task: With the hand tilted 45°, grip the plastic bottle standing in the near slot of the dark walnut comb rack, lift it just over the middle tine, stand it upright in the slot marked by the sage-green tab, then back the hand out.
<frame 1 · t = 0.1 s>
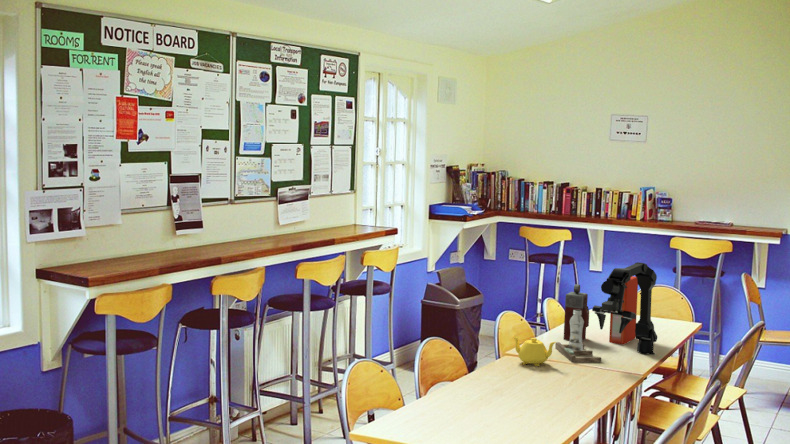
hand: (610, 331, 345), 15 cm above the table, tool pointing down, fingers open, 9 cm apart
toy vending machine: (576, 339, 394), on the table
comb rack: (579, 355, 363), on the table
file binder: (622, 340, 394), on the table
teapot: (533, 363, 347), on the table
plastic bottle: (575, 352, 368), on the table
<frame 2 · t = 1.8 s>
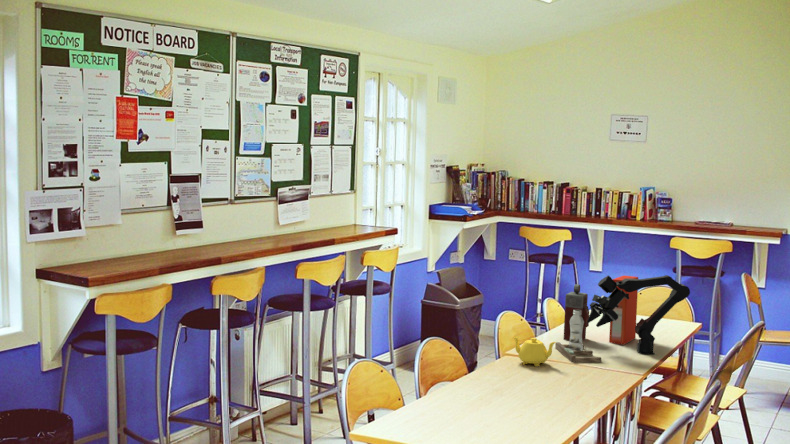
hand: (592, 324, 367), 14 cm above the table, tool tilted 45°, fingers open, 9 cm apart
nothing on the table moved.
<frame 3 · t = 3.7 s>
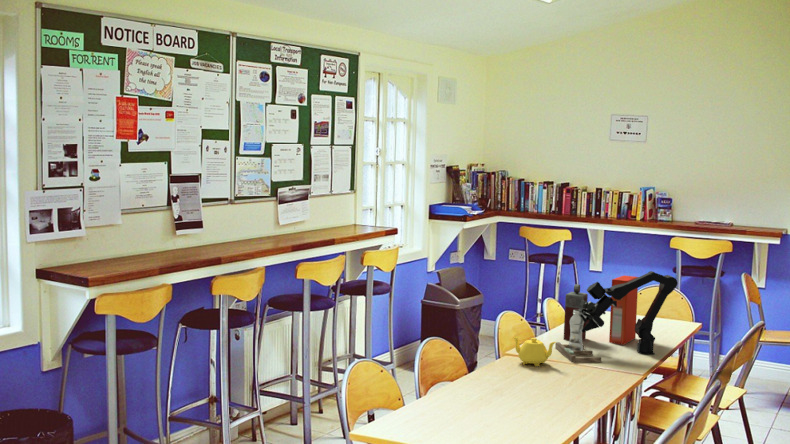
hand: (578, 329, 368), 11 cm above the table, tool tilted 45°, fingers open, 9 cm apart
nothing on the table moved.
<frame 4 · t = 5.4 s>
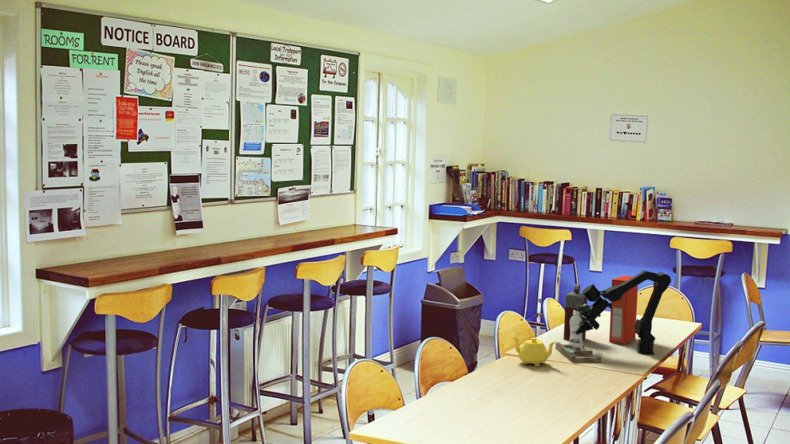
hand: (573, 332, 367), 10 cm above the table, tool tilted 45°, fingers closed on plastic bottle, 6 cm apart
plastic bottle: (575, 352, 368), on the table, touching gripper
everything else where it was.
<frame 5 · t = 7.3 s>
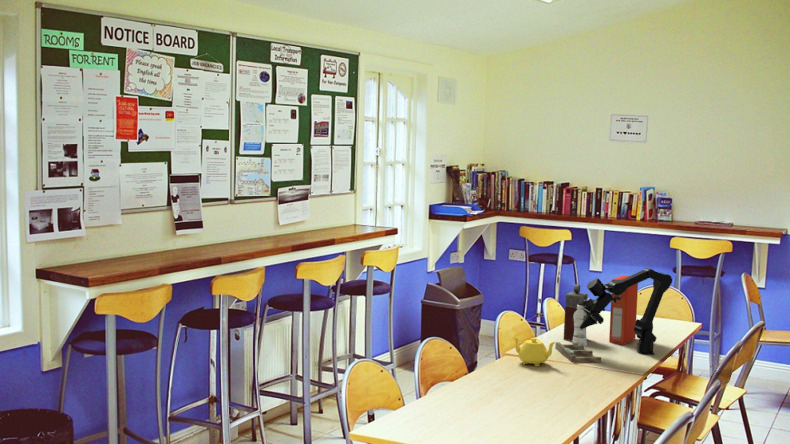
hand: (577, 326, 362), 13 cm above the table, tool tilted 45°, fingers closed on plastic bottle, 6 cm apart
plastic bottle: (579, 347, 363), point 3 cm above the table, touching gripper
everything else where it was.
when the fingers open (10 cm above the table, at t = 9.8 s): plastic bottle stays where it is, on the table.
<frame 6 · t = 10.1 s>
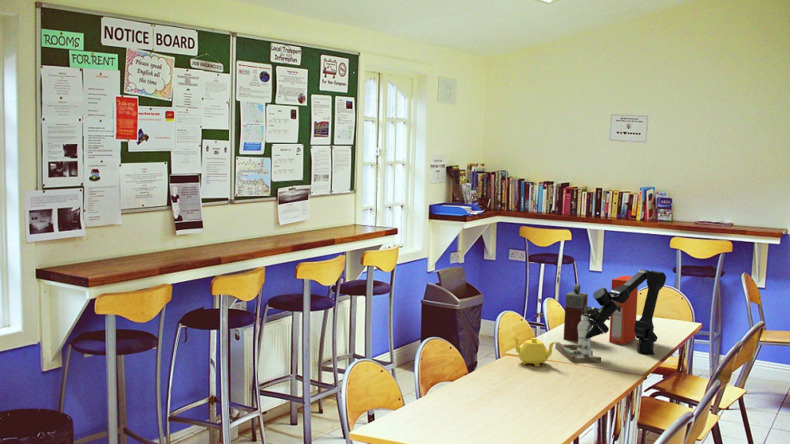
hand: (581, 335, 356), 11 cm above the table, tool tilted 45°, fingers open, 9 cm apart
plastic bottle: (583, 358, 357), on the table
everything else where it was.
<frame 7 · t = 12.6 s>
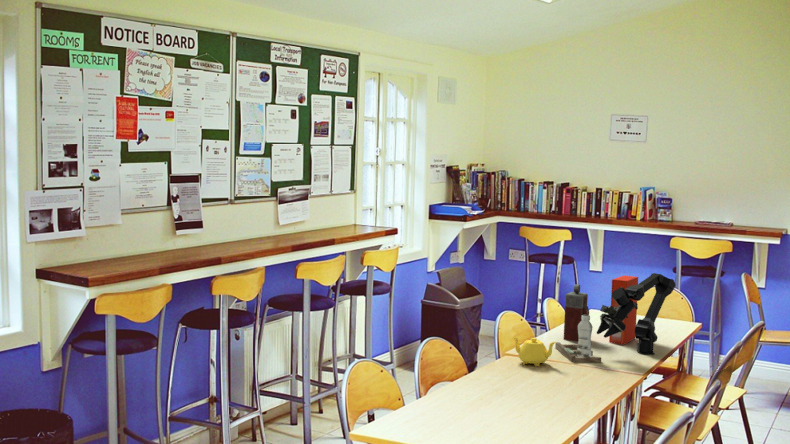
hand: (600, 335, 358), 11 cm above the table, tool tilted 40°, fingers open, 9 cm apart
nothing on the table moved.
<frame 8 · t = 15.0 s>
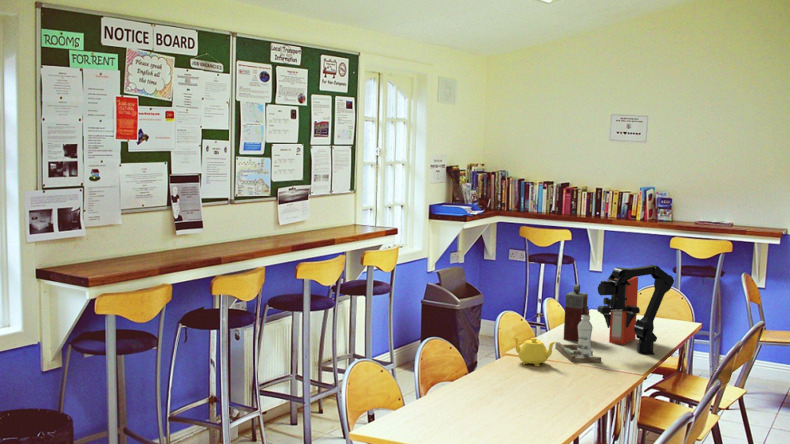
hand: (617, 327, 364), 13 cm above the table, tool pointing down, fingers open, 9 cm apart
nothing on the table moved.
at the end: plastic bottle inside the target area on the comb rack (0.3 cm from its centre), point 0.0 cm above the comb rack's base; plastic bottle tilted 0°; the gripper is holding nothing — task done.
